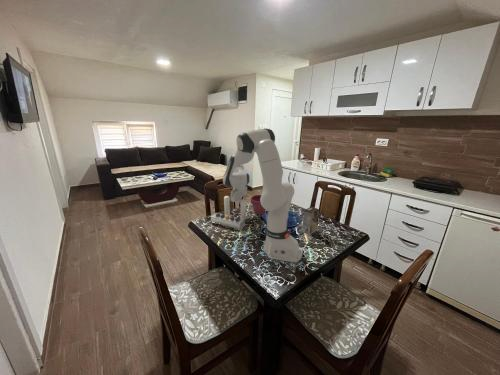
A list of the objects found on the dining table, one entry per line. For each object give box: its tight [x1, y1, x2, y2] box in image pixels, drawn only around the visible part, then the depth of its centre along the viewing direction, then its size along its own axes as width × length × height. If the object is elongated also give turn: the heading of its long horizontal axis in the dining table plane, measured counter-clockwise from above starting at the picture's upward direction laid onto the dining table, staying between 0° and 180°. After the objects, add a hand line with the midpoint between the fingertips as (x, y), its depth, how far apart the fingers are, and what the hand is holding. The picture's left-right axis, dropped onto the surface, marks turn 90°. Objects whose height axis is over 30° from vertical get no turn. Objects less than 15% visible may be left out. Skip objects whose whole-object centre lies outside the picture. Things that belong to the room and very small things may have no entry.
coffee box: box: [301, 206, 320, 236], centre depth 140 cm, size 9×6×16 cm
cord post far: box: [223, 195, 231, 216], centre depth 161 cm, size 4×4×16 cm
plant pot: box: [250, 194, 267, 216], centre depth 168 cm, size 14×14×13 cm
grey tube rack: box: [210, 212, 246, 231], centre depth 150 cm, size 25×8×7 cm, turn 65°
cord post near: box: [239, 198, 247, 221], centre depth 155 cm, size 4×4×16 cm
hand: (239, 203), depth 162 cm, fingers closed
